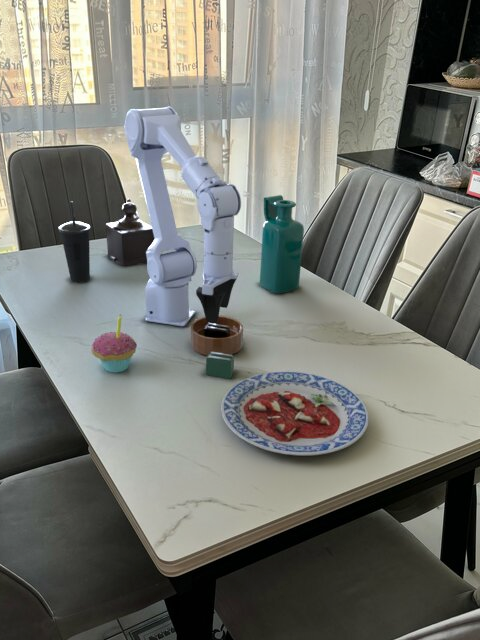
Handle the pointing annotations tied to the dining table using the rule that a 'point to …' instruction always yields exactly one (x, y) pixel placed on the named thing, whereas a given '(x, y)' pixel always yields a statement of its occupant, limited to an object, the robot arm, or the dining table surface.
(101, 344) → the cupcake
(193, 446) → the dining table surface
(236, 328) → the bowl
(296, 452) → the ceramic plate
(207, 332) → the black clip
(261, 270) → the teal green bottle
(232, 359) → the green clip
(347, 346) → the dining table surface
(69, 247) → the drinking cup
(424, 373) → the dining table surface
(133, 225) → the dark brown knobbed box
